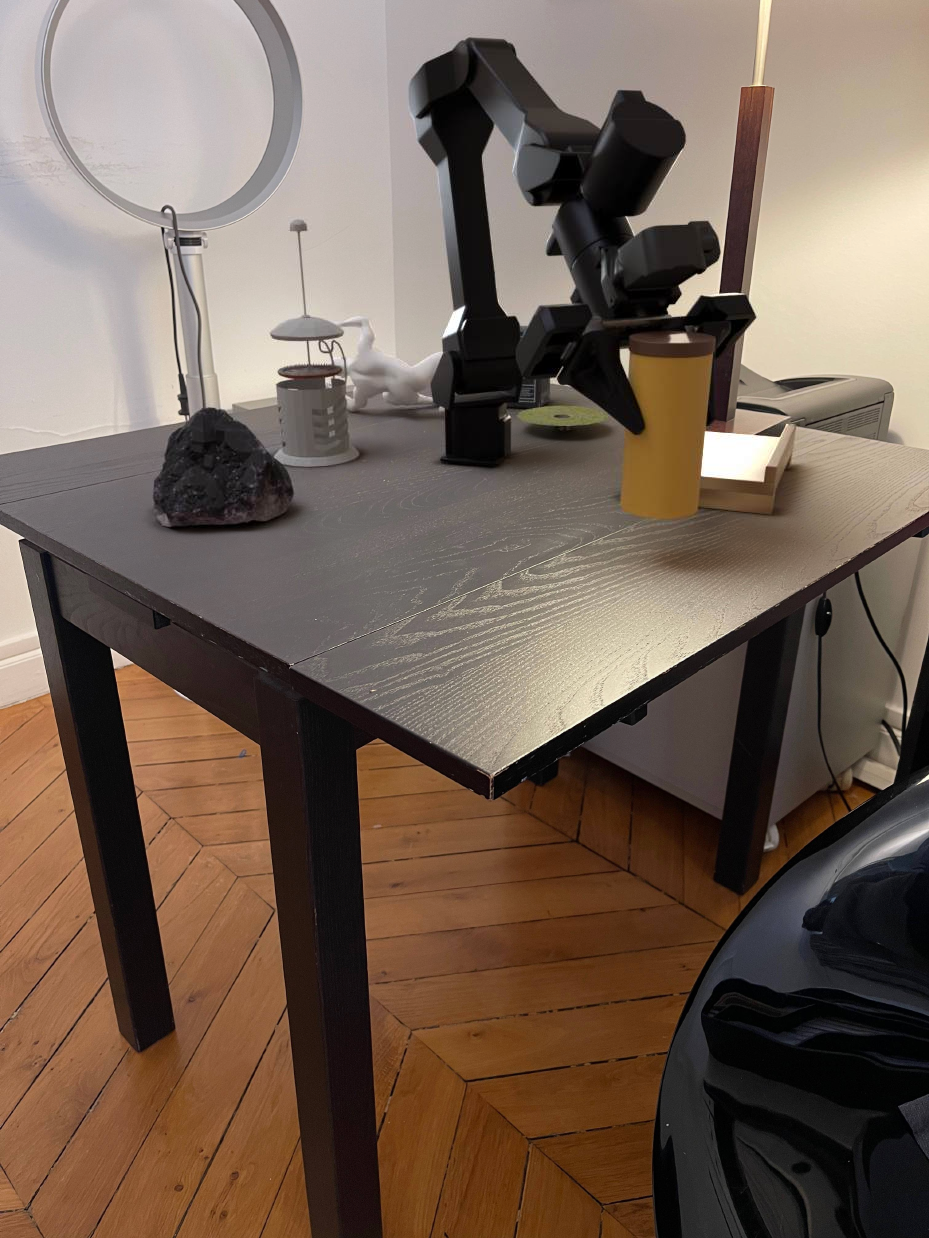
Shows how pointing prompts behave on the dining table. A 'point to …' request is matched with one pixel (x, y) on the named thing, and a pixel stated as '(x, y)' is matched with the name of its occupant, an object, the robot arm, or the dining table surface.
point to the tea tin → (667, 423)
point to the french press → (312, 394)
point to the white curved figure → (384, 372)
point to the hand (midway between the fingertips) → (675, 427)
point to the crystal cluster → (219, 475)
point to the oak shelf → (744, 470)
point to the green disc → (562, 416)
